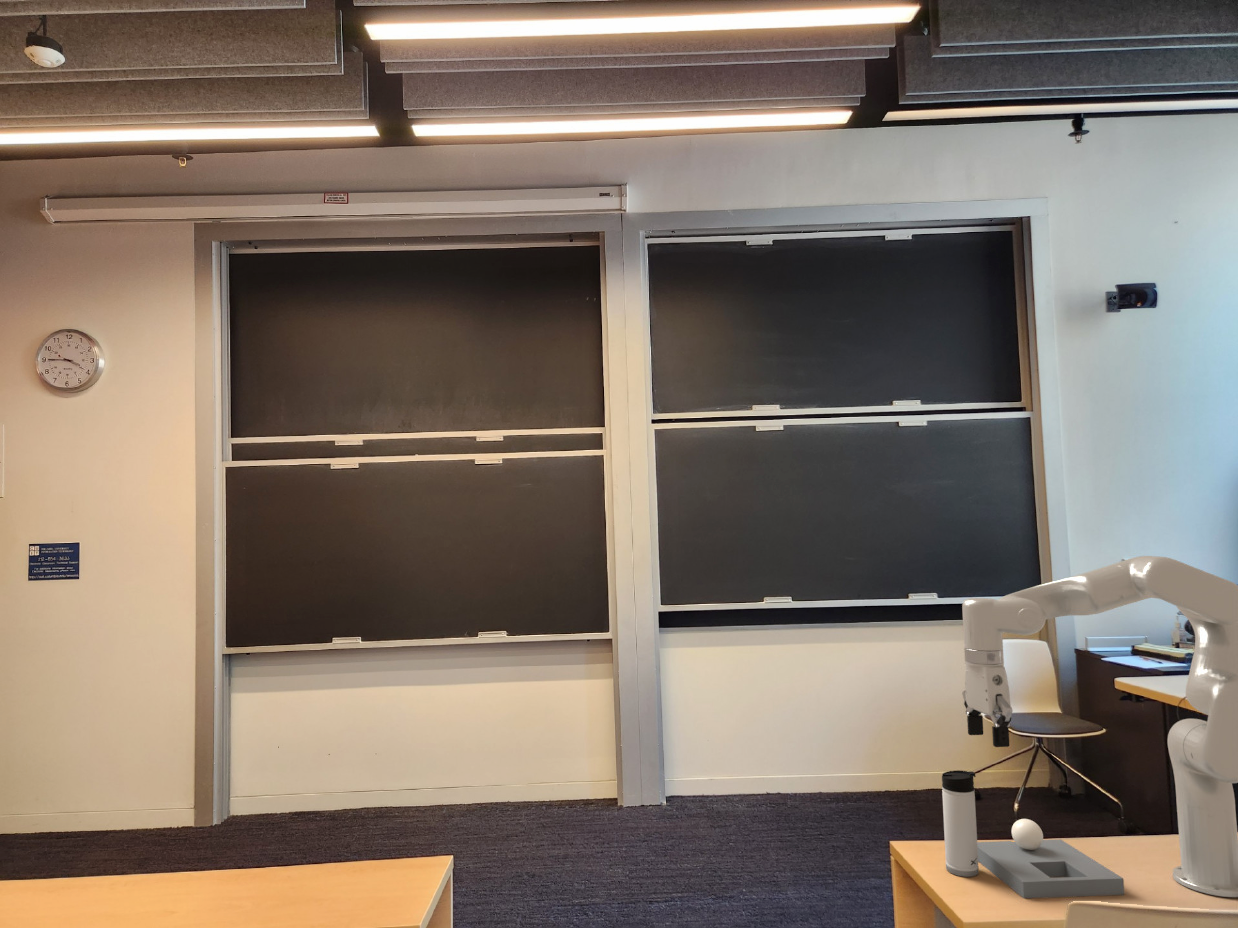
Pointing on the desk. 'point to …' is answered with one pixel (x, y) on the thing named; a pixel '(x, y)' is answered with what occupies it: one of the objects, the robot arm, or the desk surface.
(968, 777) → the travel mug
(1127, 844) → the desk surface
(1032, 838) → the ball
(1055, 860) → the plate
